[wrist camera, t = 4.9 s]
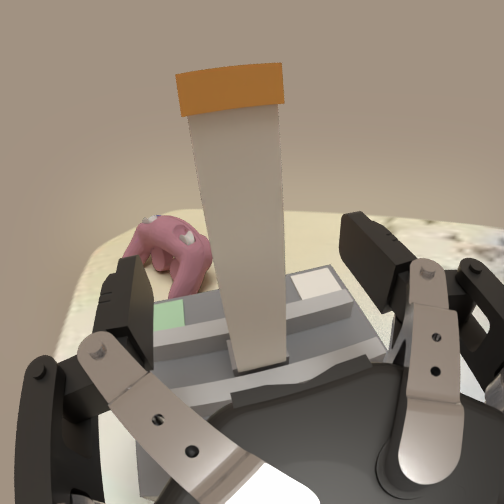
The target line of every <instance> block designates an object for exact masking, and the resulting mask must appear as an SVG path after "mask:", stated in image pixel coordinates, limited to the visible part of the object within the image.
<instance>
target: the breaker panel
mask: <svg viewBox="0 0 504 504" xmlns="http://www.w3.org/2000/svg"><path fill="white" fill-rule="evenodd" d="M285 281H286V349H287V351H288V354H289V365H285V366H281V367H277V368H273V369H269V370H265V371H261V372H257V373H253V374H248V375H244V376H240V377H235V376H234V372H233V369H232V364H231V360H230V355H229V351H228V346H227V342H226V340H231V339H230V335H229V331H228V326H227V322H226V317H225V313H224V309H223V304H222V299H221V295H220V290H219V289H217V290H212V291H208V292H203V293H198V294H193V295H188V296H183V297H178V298H173V299H167V300H162V301H157V302H154V320H153V354H154V370H151V371H150V372H152V373H153V374H154V375H155V376H156V377H157V378H158V379H159V380H160V381H161V382H162V383H163V384H164V385H166V386H167V387H168V388H169V389H170V390H171V391H172V392H173V393H174V394H175V395H176V396H178V397H179V398H180V399H181V400H182V401H183V402H184V403H185V404H187V405H188V406H189V407H190V408H191V409H192V410H194V411H195V412H196V413H197V414H198V415H199V416H201V417H202V418H203V419H204V420H207V419H208V418H209V417H210V416H211V415H212V414H213V413H215V412H216V411H217V410H219V409H220V408H222V407H224V406H225V405H227V404H229V403H232V399H231V395H230V393H232V392H237V391H241V390H246V389H250V388H255V387H259V386H263V385H275V384H296V383H305V382H307V381H309V380H311V379H313V378H314V377H316V376H318V375H319V374H321V373H323V372H324V371H326V370H328V369H329V368H331V367H332V366H334V365H336V364H338V363H341V362H344V361H347V360H350V359H353V358H356V357H358V356H361V355H364V354H366V355H367V357H368V359H369V361H370V362H385V363H386V361H387V357H388V350H387V349H386V347H385V346H384V344H383V342H382V341H381V339H380V338H379V336H378V335H377V333H376V332H375V330H374V328H373V327H372V325H371V324H370V322H369V321H368V319H367V318H366V316H365V315H364V313H363V312H362V310H361V309H360V307H359V305H358V304H357V302H356V301H355V299H354V298H353V297H352V295H351V294H350V292H349V291H348V289H347V288H346V286H345V285H344V283H343V282H342V280H341V279H340V277H339V276H338V275H337V273H336V272H335V270H334V269H333V267H332V266H331V264H330V265H326V266H322V267H317V268H313V269H309V270H304V271H300V272H296V273H291V274H287V275H285ZM147 372H148V371H147ZM136 455H137V469H138V480H139V490H140V497H143V498H146V499H149V500H152V501H156V499H157V498H158V496H159V495H160V493H161V491H162V490H163V488H164V487H165V485H166V483H167V482H168V480H169V479H170V477H171V476H170V475H169V474H168V473H167V472H166V471H165V470H164V469H163V468H162V467H161V466H160V465H159V464H158V463H157V462H156V461H155V460H154V459H153V458H152V457H151V456H150V455H149V454H148V453H147V452H146V451H145V449H144V448H143V447H142V446H141V445H140V444H139V443H138V442H137V441H136Z"/></svg>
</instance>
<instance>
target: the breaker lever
mask: <svg viewBox="0 0 504 504" xmlns="http://www.w3.org/2000/svg"><path fill="white" fill-rule="evenodd" d="M175 76H176V83H177V90H178V96H179V103H180V110H181V116H182V117H185V116H187V117H188V123H189V130H190V136H191V143H192V148H193V155H194V160H195V166H196V172H197V178H198V184H199V189H200V195H201V200H202V206H203V211H204V216H205V221H206V227H207V232H208V237H209V242H210V247H211V252H212V257H213V262H214V267H215V271H216V276H217V281H218V286H219V290H220V295H221V299H222V304H223V309H224V313H225V317H226V322H227V326H228V331H229V335H230V339H231V340H226V342H227V346H228V351H229V355H230V360H231V364H232V369H233V372H234V376H235V377H240V376H244V375H248V374H253V373H257V372H261V371H265V370H269V369H273V368H277V367H281V366H285V365H289V354H288V351H287V349H286V281H285V241H284V212H283V188H282V167H281V149H280V132H279V116H278V104H284V90H283V75H282V63H265V64H249V65H238V66H229V67H220V68H213V69H205V70H198V71H192V72H186V73H181V74H176V75H175Z"/></svg>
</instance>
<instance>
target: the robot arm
mask: <svg viewBox="0 0 504 504" xmlns="http://www.w3.org/2000/svg"><path fill="white" fill-rule="evenodd" d="M339 253H340V256H341V259H342V261H343V262H344V263H345V265H346V266H347V267H348V269H349V270H350V271H351V273H352V274H353V275H354V277H355V278H356V279H357V281H358V282H359V283H360V285H361V286H362V287H363V289H364V290H365V292H366V293H367V294H368V296H369V297H370V298H371V300H372V301H373V303H374V304H375V305H376V307H377V308H378V310H379V311H380V312H381V314H384V313H387V312H390V311H393V312H394V313H395V315H394V317H393V322H392V330H391V338H390V345H389V351H388V357H387V361H386V363H385V362H370V361H369V359H368V357H367V355H366V354H364V355H361V356H358V357H356V358H353V359H350V360H347V361H344V362H341V363H338V364H336V365H334V366H332V367H331V368H329V369H328V370H326V371H324V372H323V373H321V374H319V375H318V376H316V377H314V378H313V379H311V380H309V381H307V382H305V383H296V384H275V385H263V386H259V387H255V388H250V389H246V390H241V391H237V392H232V393H230V395H231V399H232V403H229V404H227V405H225V406H224V407H222V408H220V409H219V410H217V411H216V412H215V413H213V414H212V415H211V416H210V417H209V418H208V419H207V420H204V419H203V418H202V417H201V416H199V415H198V414H197V413H196V412H195V411H194V410H192V409H191V408H190V407H189V406H188V405H187V404H185V403H184V402H183V401H182V400H181V399H180V398H179V397H178V396H176V395H175V394H174V393H173V392H172V391H171V390H170V389H169V388H168V387H167V386H166V385H164V384H163V383H162V382H161V381H160V380H159V379H158V378H157V377H156V376H155V375H154V374H153V373H152V372H150V371H151V370H154V354H153V320H154V297H153V291H152V287H151V284H150V282H149V279H148V277H147V274H146V271H145V269H144V266H143V263H142V261H141V258H140V256H139V255H133V256H129V257H124V258H120V259H119V261H118V266H117V270H116V273H113V274H109V276H108V277H107V278H106V280H105V281H104V283H103V284H102V289H101V293H100V295H101V296H100V297H99V302H98V303H99V304H98V306H97V311H96V316H95V321H94V326H93V331H92V334H90V335H89V336H87V337H86V338H85V339H84V340H83V341H82V342H81V344H80V345H79V348H78V351H77V355H75V356H73V357H71V358H69V359H66V360H64V361H62V362H59V363H57V362H56V361H55V360H54V359H53V358H52V357H51V356H47V355H43V356H40V357H38V358H36V359H34V360H33V361H32V362H31V363H30V365H29V366H28V367H27V369H26V372H25V376H24V381H23V387H22V392H21V399H20V406H19V413H18V421H17V431H16V445H15V466H14V469H15V470H14V487H15V504H106V503H105V499H104V492H103V483H102V474H101V463H100V450H99V429H98V415H99V414H102V413H104V412H106V411H109V410H111V411H112V412H113V413H114V414H115V416H116V417H117V418H118V419H119V421H120V422H121V423H122V424H123V425H124V427H125V428H126V429H127V430H128V431H129V433H130V434H131V435H132V436H133V437H134V438H135V439H136V441H137V442H138V443H139V444H140V445H141V446H142V447H143V448H144V449H145V451H146V452H147V453H148V454H149V455H150V456H151V457H152V458H153V459H154V460H155V461H156V462H157V463H158V464H159V465H160V466H161V467H162V468H163V469H164V470H165V471H166V472H167V473H168V474H169V475H170V476H171V477H170V479H169V480H168V482H167V483H166V485H165V487H164V488H163V490H162V491H161V493H160V495H159V496H158V498H157V499H156V501H155V502H154V504H504V285H503V284H502V283H501V282H500V281H499V280H498V278H497V277H496V276H495V275H494V274H493V273H492V272H491V271H490V270H489V269H488V268H487V267H486V266H485V265H484V264H483V263H482V262H480V261H478V260H476V259H473V258H465V259H463V260H461V262H460V265H459V267H458V270H444V269H443V268H442V267H441V266H440V265H439V264H438V263H436V262H435V261H433V260H430V259H425V258H419V259H417V258H416V257H415V256H414V255H413V254H412V253H411V252H410V251H409V250H408V249H407V248H406V247H405V246H404V245H403V244H402V243H401V242H400V241H398V239H397V238H396V237H395V236H394V235H392V233H391V232H390V231H389V230H388V229H387V228H385V227H384V226H383V225H381V224H379V223H377V222H375V221H371V220H370V219H369V218H368V217H367V216H366V215H365V214H364V213H363V212H361V211H359V212H353V213H347V214H343V216H342V218H341V228H340V239H339ZM476 305H477V306H478V307H479V308H480V309H481V311H482V312H483V313H484V314H485V316H486V317H487V318H488V320H489V323H490V330H489V332H488V334H486V332H485V331H484V329H483V328H482V327H481V325H480V324H479V323H478V321H477V320H476V319H475V317H474V316H473V315H472V312H473V310H474V308H475V306H476ZM460 354H461V355H462V357H463V358H464V360H465V361H466V363H467V365H468V366H469V368H470V369H471V371H472V373H473V374H474V376H475V378H476V379H477V381H478V383H479V384H480V386H481V388H482V389H483V391H484V393H485V400H486V401H485V402H484V403H483V402H480V401H478V400H476V399H473V398H471V397H469V396H466V395H464V394H462V393H460ZM147 371H148V372H147Z"/></svg>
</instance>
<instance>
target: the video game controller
mask: <svg viewBox="0 0 504 504" xmlns="http://www.w3.org/2000/svg"><path fill="white" fill-rule="evenodd" d="M133 255H139V256H140V258H141V261H142V263H143V264H144V263H145V262H146V260H147V259H148V258H149V256H150V255H151V256H152V263H153V266H154V268H155V269H156V270H157V271H164V270H169V269H170V275H171V277H172V279H173V281H174V282H173V284H172V286H171V289H170V292H169V296H168V299H173V298H178V297H183V296H188V295H193V294H197V292H198V290H199V288H200V286H201V284H202V281H203V279H204V276H205V273H206V271H207V270H208V269H209V267H210V266H211V264H212V260H213V257H212V252H211V247H210V242H209V240H208V239H207V238H206V237H205V236H204V235H201V234H199V233H198V232H197V231H196V230H195V228H193V227H192V226H191V225H190V224H189V223H187V222H185V221H184V220H182V219H180V218H177V217H174V216H161V215H156V216H151V217H150V218H148V219H147V218H143V220H142V223H140V224H139V225H138V227H137V228H136V231H135V233H134V236H133V238H132V240H131V242H130V244H129V246H128V247H127V249H126V251H125V253H124V255H123V257H122V258H124V257H129V256H133ZM173 256H174V257H175V259H173Z"/></svg>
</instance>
